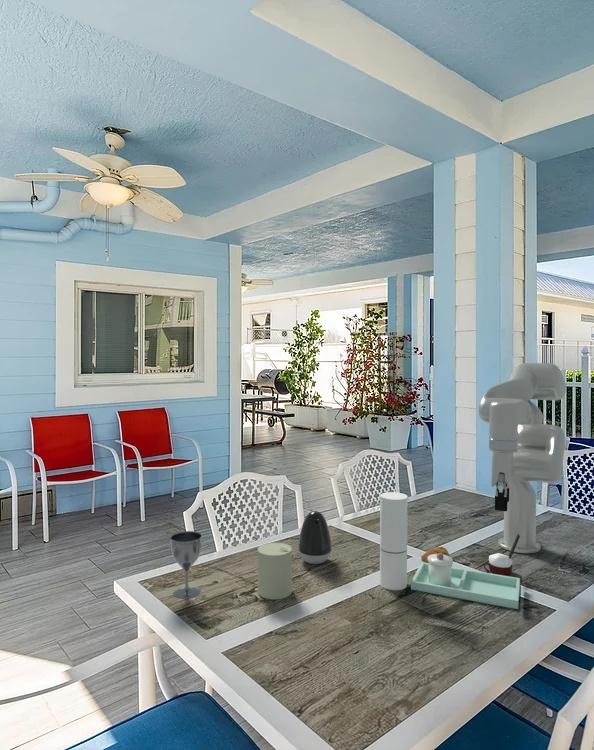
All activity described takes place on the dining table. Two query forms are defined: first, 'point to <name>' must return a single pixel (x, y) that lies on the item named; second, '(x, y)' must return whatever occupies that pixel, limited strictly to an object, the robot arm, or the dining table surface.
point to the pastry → (434, 551)
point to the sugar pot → (440, 569)
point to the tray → (472, 586)
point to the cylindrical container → (393, 540)
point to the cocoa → (501, 561)
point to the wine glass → (186, 558)
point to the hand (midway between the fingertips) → (502, 505)
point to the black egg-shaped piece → (315, 539)
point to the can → (274, 570)
